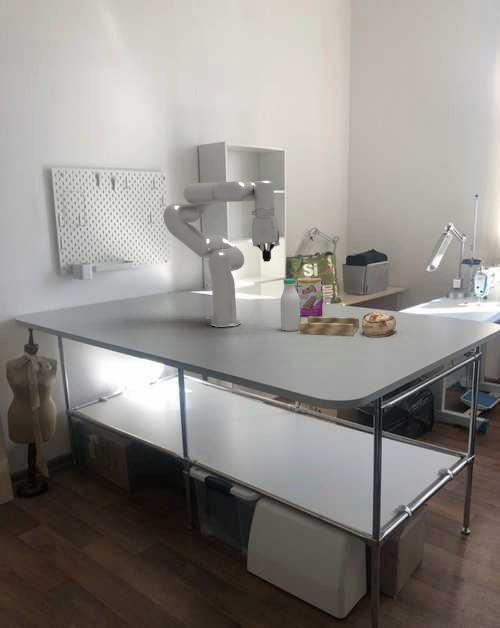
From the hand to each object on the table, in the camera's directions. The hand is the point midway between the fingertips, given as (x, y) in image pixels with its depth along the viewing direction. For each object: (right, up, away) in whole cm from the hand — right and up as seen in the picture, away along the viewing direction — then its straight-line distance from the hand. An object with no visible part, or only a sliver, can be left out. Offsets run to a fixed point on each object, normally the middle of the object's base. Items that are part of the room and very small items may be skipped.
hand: (266, 261), depth 210 cm
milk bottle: (+10, -27, +2) cm, 29 cm away
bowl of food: (+41, -28, -11) cm, 51 cm away
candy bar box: (+20, -22, +28) cm, 41 cm away
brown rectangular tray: (+24, -27, -4) cm, 36 cm away
